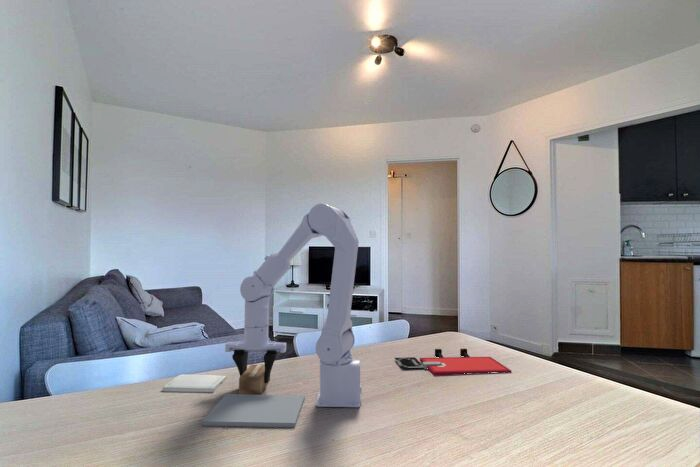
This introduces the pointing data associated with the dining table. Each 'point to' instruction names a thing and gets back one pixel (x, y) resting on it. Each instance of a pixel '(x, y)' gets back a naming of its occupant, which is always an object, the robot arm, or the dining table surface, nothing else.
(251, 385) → the taped cardboard box
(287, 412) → the rubber mat
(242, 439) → the dining table surface
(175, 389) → the hard drive
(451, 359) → the red board with handle
